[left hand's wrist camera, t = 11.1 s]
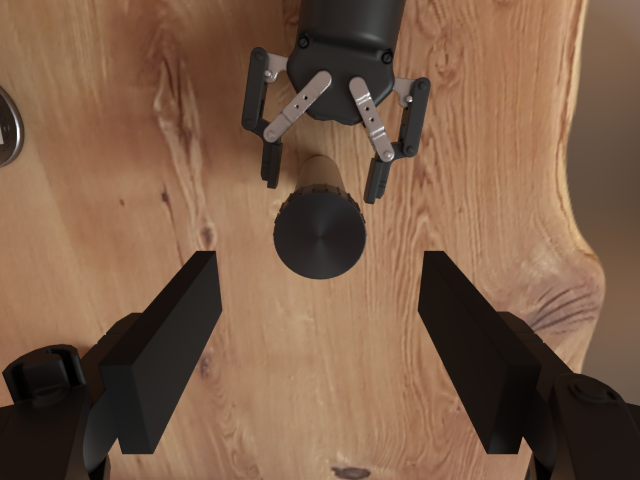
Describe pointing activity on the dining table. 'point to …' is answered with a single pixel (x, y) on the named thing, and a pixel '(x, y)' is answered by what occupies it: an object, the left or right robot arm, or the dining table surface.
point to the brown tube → (319, 173)
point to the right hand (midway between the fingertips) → (320, 194)
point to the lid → (319, 231)
